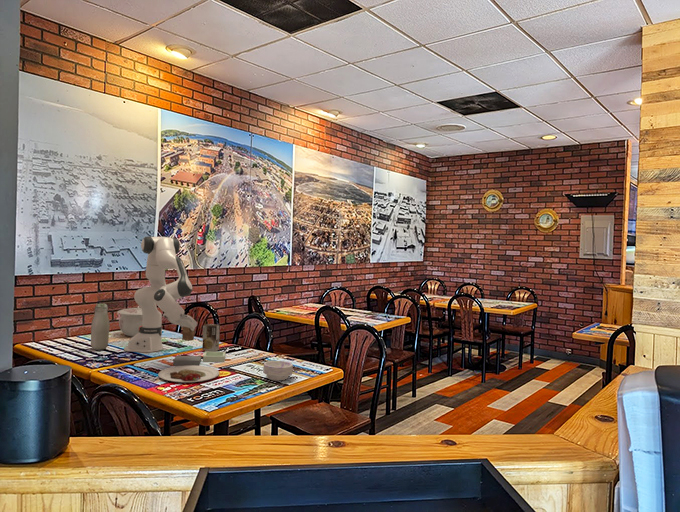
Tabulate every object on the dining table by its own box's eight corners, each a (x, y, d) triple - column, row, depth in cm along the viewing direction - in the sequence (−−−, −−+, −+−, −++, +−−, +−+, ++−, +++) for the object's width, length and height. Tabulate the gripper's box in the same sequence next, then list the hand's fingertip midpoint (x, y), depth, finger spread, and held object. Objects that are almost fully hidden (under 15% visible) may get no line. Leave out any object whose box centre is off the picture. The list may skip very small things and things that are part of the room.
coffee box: (219, 349, 314) (220, 324, 314) (215, 351, 308) (217, 326, 308) (205, 348, 315) (206, 323, 315) (201, 350, 309) (202, 325, 308)
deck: (173, 365, 270) (173, 360, 270) (175, 361, 280) (176, 355, 280) (199, 365, 273) (199, 360, 273) (201, 361, 283) (201, 356, 283)
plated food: (197, 365, 274) (197, 359, 274) (231, 377, 255) (231, 371, 255) (146, 375, 251) (146, 368, 250) (179, 389, 232) (180, 382, 231)
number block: (187, 341, 273) (188, 323, 273) (182, 339, 276) (183, 321, 276) (193, 340, 276) (194, 322, 276) (188, 338, 279) (189, 321, 279)
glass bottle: (93, 352, 290) (94, 305, 289) (88, 348, 298) (90, 302, 297) (110, 350, 297) (112, 304, 296) (105, 347, 304) (107, 302, 303)
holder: (202, 361, 282) (203, 356, 282) (204, 356, 294) (204, 351, 294) (224, 362, 284) (224, 356, 284) (225, 357, 296) (225, 351, 296)
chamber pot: (131, 340, 325) (132, 309, 325) (107, 334, 340) (108, 305, 340) (167, 335, 349) (168, 306, 348) (143, 329, 364) (144, 302, 363)
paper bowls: (296, 376, 262) (296, 361, 262) (286, 384, 248) (287, 368, 247) (269, 373, 266) (269, 358, 266) (258, 380, 251) (259, 365, 251)
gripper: (191, 311, 264) (205, 327, 272) (168, 306, 276) (181, 322, 284) (184, 320, 260) (198, 336, 269) (160, 315, 272) (174, 330, 280)
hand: (189, 329), depth 276 cm, fingers closed on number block, 5 cm apart
